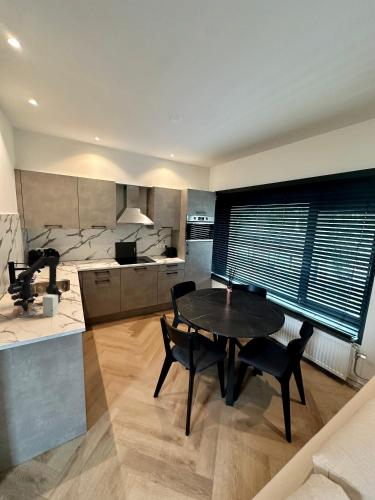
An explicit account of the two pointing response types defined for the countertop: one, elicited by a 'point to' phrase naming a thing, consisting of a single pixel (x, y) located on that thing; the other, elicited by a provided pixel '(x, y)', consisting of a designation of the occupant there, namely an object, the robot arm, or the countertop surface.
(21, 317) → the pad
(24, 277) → the robot arm
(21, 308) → the peach rounded capsule
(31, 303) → the walnut block
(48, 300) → the skincare box
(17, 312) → the peach capsule shape
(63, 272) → the countertop surface
